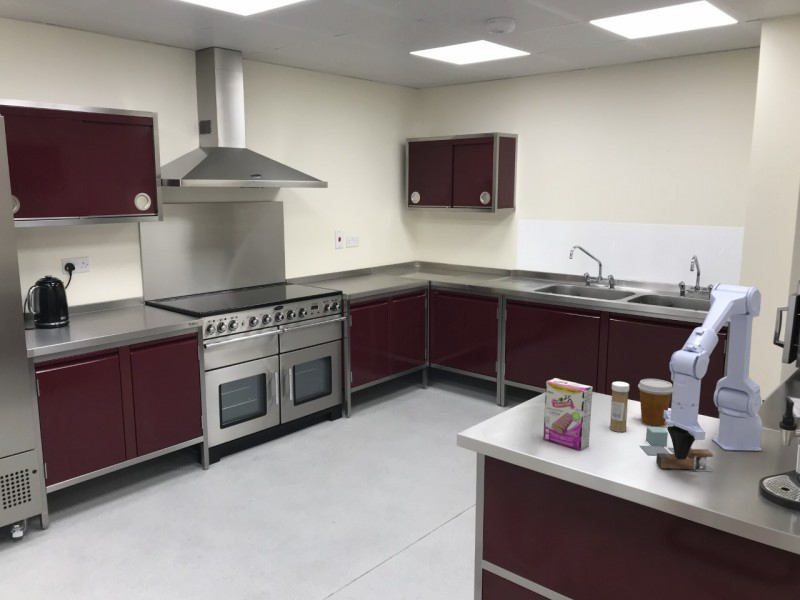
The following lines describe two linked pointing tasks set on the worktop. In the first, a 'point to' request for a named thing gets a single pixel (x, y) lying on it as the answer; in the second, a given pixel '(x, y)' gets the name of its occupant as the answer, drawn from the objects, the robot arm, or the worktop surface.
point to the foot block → (656, 436)
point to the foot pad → (673, 450)
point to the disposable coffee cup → (654, 400)
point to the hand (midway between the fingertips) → (680, 458)
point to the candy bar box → (567, 413)
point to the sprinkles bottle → (619, 406)
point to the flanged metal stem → (701, 465)
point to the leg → (687, 463)
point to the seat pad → (654, 450)
